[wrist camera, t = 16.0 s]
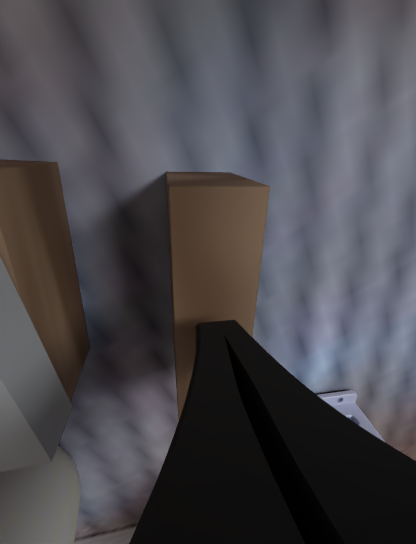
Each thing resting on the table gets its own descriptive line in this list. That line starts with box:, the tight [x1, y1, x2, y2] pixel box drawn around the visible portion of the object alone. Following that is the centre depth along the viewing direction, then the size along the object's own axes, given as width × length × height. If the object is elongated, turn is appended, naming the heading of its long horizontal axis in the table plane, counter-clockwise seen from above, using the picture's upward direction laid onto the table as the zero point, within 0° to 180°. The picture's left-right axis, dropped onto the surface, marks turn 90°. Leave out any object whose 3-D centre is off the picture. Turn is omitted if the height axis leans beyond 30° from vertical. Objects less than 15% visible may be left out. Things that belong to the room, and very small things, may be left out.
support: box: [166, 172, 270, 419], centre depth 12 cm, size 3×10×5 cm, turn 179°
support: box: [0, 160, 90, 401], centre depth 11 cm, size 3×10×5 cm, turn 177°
